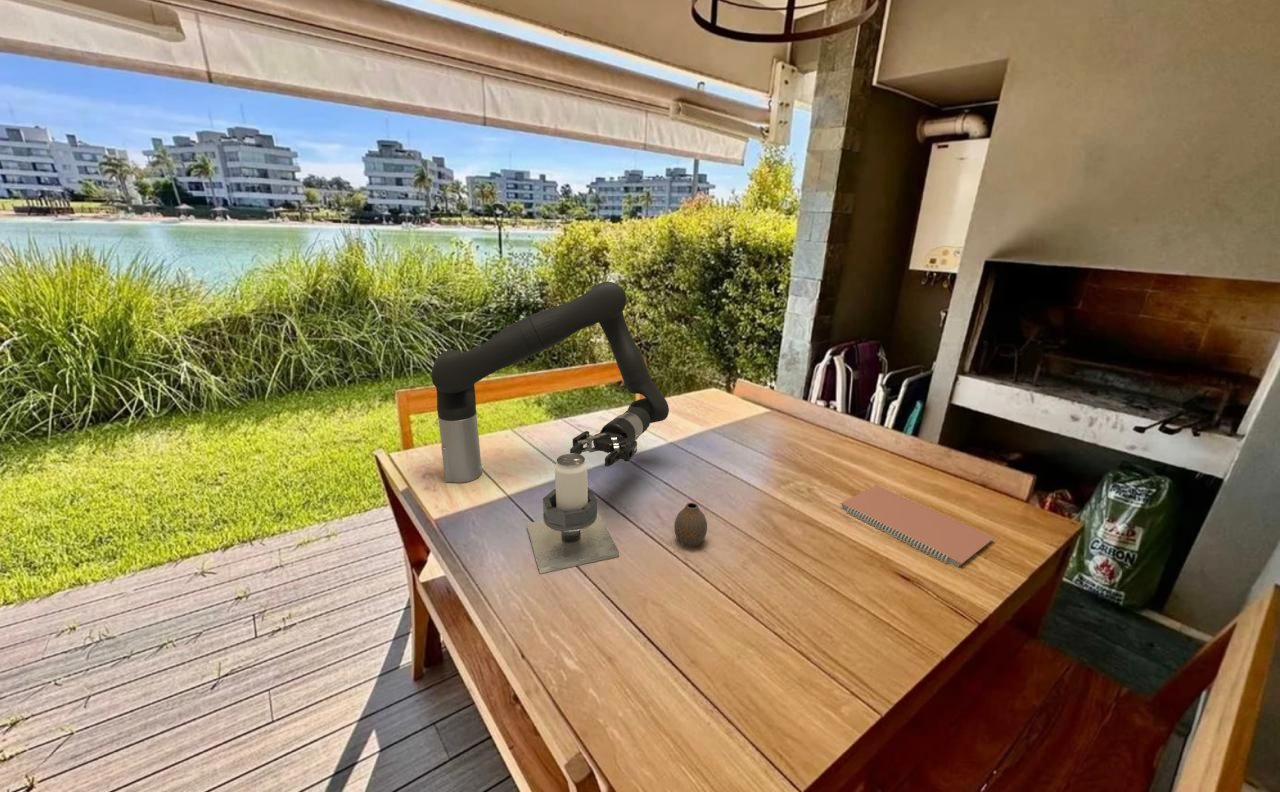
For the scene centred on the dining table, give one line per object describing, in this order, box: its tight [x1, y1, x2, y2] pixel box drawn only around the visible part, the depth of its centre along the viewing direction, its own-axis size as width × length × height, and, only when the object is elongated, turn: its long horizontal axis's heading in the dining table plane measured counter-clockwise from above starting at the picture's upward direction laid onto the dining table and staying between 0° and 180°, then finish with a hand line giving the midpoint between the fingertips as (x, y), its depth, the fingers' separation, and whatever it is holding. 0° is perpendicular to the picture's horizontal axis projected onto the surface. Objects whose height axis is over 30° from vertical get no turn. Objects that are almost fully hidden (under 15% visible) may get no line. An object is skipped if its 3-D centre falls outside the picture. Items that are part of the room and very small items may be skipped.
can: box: [554, 452, 589, 511], centre depth 101 cm, size 6×6×12 cm
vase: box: [673, 502, 708, 547], centre depth 105 cm, size 7×7×9 cm
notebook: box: [840, 485, 995, 568], centre depth 114 cm, size 27×17×2 cm, turn 36°
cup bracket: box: [526, 488, 620, 575], centre depth 104 cm, size 16×16×10 cm
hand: (588, 458), depth 107 cm, fingers open, 8 cm apart
